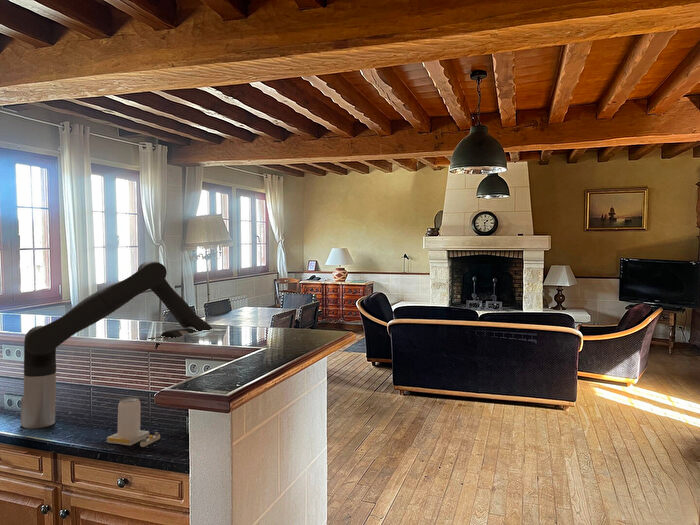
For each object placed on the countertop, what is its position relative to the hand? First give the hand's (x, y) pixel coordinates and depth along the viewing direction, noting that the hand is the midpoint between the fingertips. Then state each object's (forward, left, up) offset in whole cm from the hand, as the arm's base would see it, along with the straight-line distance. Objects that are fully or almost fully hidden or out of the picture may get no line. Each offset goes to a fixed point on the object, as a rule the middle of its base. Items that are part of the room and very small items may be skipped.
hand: (145, 345), depth 167 cm
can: (+4, -12, -27) cm, 30 cm away
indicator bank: (+12, -12, -27) cm, 32 cm away
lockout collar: (+4, -12, -27) cm, 30 cm away
